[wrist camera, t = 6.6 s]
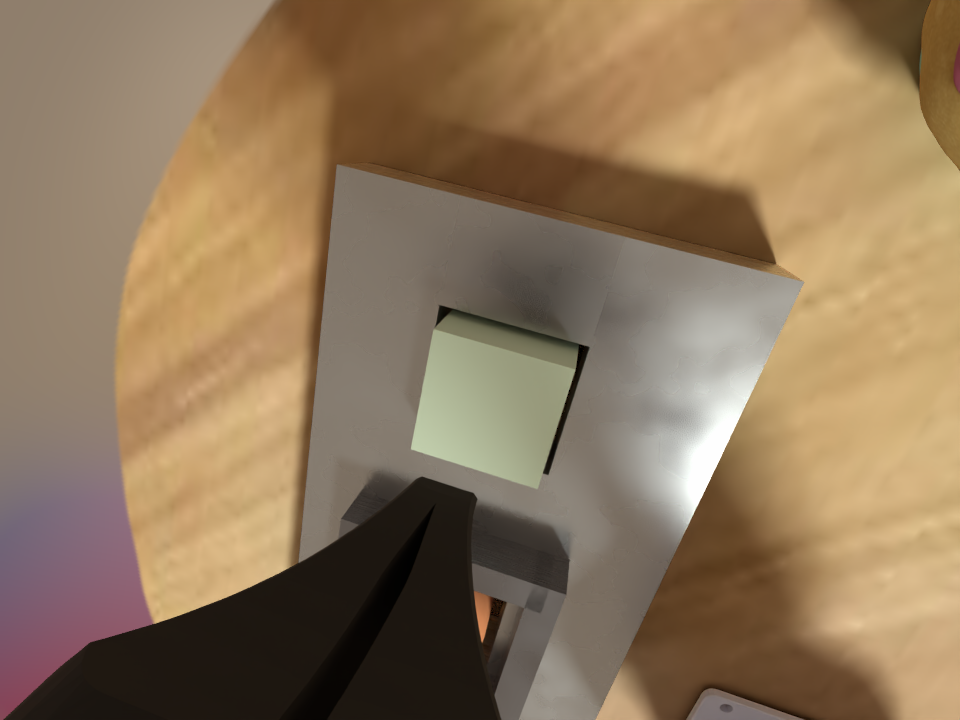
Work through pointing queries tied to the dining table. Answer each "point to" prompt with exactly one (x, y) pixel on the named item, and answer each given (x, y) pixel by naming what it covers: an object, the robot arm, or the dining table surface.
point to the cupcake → (942, 74)
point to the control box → (586, 419)
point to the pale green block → (493, 396)
